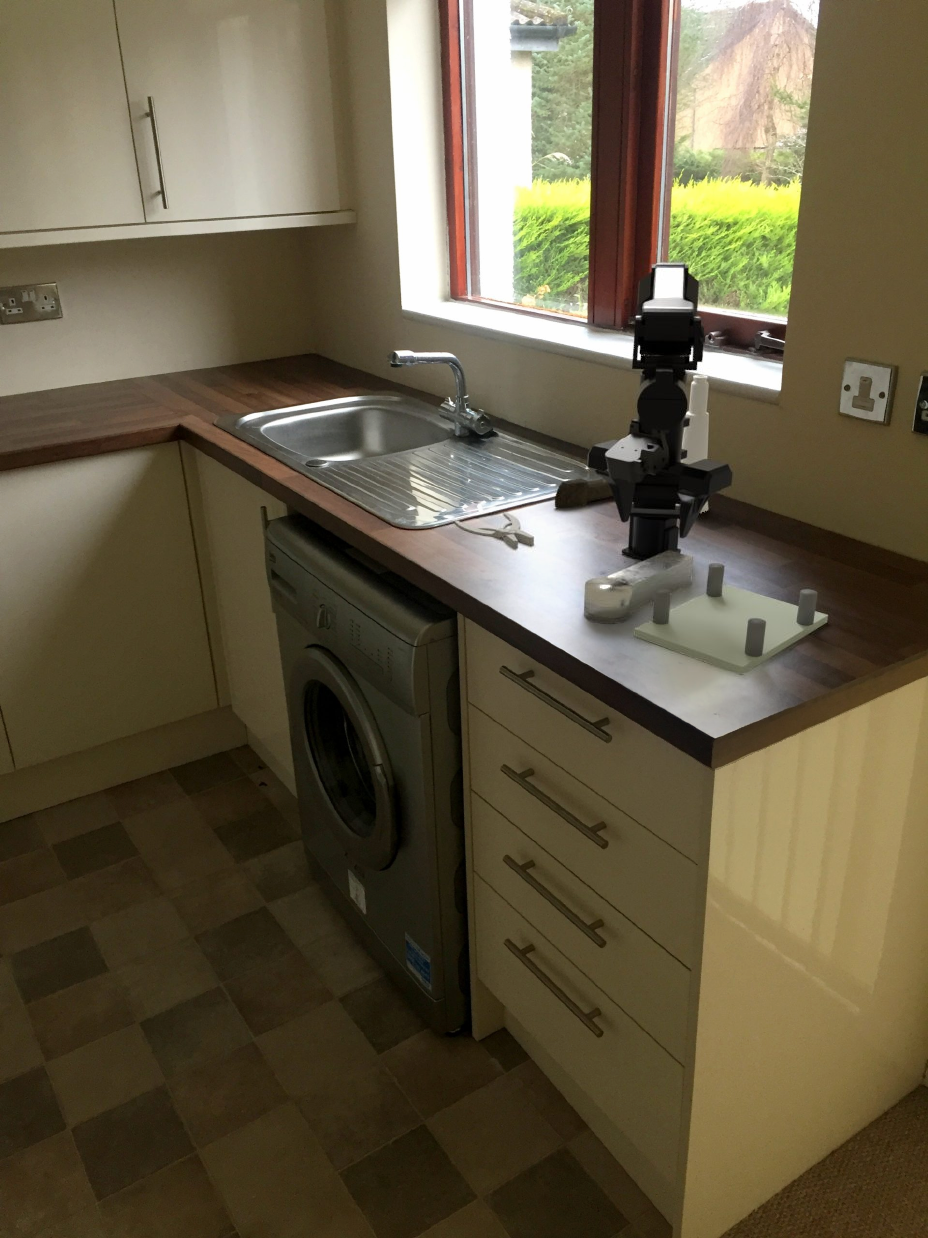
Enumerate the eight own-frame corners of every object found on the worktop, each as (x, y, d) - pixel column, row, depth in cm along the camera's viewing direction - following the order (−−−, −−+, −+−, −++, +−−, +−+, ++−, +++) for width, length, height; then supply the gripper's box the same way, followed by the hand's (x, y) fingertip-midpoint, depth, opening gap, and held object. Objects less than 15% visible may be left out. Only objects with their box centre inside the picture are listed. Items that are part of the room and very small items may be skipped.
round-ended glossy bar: (574, 614, 131) (575, 585, 129) (660, 574, 143) (662, 548, 141) (611, 627, 127) (612, 598, 125) (697, 586, 139) (699, 558, 137)
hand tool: (635, 488, 182) (636, 463, 180) (649, 494, 178) (650, 468, 177) (546, 506, 173) (546, 479, 172) (559, 512, 170) (559, 485, 168)
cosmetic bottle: (675, 514, 167) (685, 379, 158) (668, 503, 173) (677, 372, 164) (711, 514, 167) (724, 379, 158) (703, 502, 173) (715, 372, 164)
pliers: (507, 507, 168) (552, 533, 156) (507, 516, 169) (552, 543, 156) (453, 515, 164) (495, 543, 152) (453, 525, 165) (495, 553, 153)
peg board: (634, 636, 125) (636, 598, 123) (723, 590, 137) (726, 556, 135) (741, 675, 115) (746, 635, 113) (827, 622, 128) (832, 585, 126)
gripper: (561, 410, 127) (558, 528, 134) (687, 435, 115) (677, 563, 122) (616, 396, 134) (611, 508, 141) (740, 418, 122) (728, 540, 129)
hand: (653, 529), depth 133 cm, fingers open, 9 cm apart
